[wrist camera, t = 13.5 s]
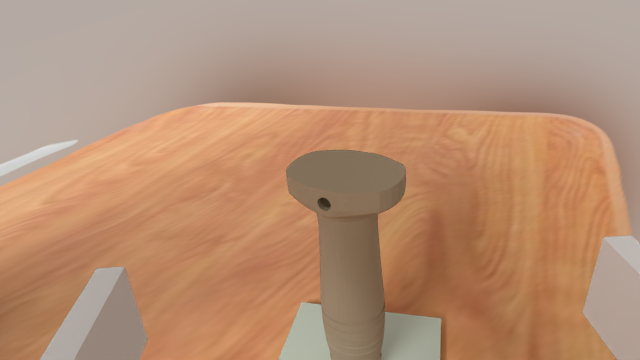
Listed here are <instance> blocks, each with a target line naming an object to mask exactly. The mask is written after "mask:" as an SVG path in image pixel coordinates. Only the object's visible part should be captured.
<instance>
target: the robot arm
mask: <svg viewBox="0 0 640 360" xmlns="http://www.w3.org/2000/svg"><path fill="white" fill-rule="evenodd" d="M582 313H583V314H584V316H585V317H586V318H587V320H588V321H589V322H590V324H591V325H592V327H593V328H594V329H595V331H596V332H597V333H598V335H599V336H600V338H601V339H602V340H603V342H604V343H605V344H606V346H607V347H608V349H609V350H610V351H611V353H612V354H613V355H614V357H615V358H616V359H617V360H640V243H639V242H638V241H637V240H636V239H635V238H634V237H633V236H615V237H603V240H602V244H601V248H600V251H599V255H598V258H597V262H596V265H595V269H594V273H593V276H592V280H591V283H590V287H589V290H588V294H587V298H586V301H585V305H584V308H583V312H582ZM147 340H148V338H147V335H146V332H145V329H144V326H143V322H142V319H141V316H140V313H139V310H138V307H137V304H136V301H135V297H134V294H133V291H132V288H131V285H130V282H129V279H128V276H127V273H126V269H125V267H111V268H97V269H96V270H95V272H94V274H93V275H92V277H91V278H90V280H89V282H88V283H87V285H86V286H85V288H84V290H83V291H82V293H81V294H80V296H79V298H78V299H77V301H76V302H75V304H74V306H73V307H72V309H71V310H70V312H69V314H68V315H67V317H66V318H65V320H64V321H63V323H62V325H61V326H60V328H59V329H58V331H57V333H56V334H55V336H54V337H53V339H52V341H51V342H50V344H49V345H48V347H47V349H46V350H45V352H44V353H43V355H42V357H41V358H40V360H140V358H141V355H142V353H143V350H144V348H145V345H146V343H147Z"/></svg>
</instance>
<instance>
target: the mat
mask: <svg viewBox="0 0 640 360" xmlns="http://www.w3.org/2000/svg"><path fill="white" fill-rule="evenodd" d="M440 343H441V318H435V317H426V316H418V315H409V314H400V313H391V312H385V327H384V338H383V344H382V349H381V352H382V358H381V360H440ZM278 360H331V358H330V350H329V347H328V343H327V340H326V335H325V330H324V325H323V318H322V308H321V304H312V303H304V302H301V305H300V307H299V310H298V312H297V315H296V317H295V320H294V322H293V325H292V327H291V330H290V332H289V335H288V337H287V340H286V342H285V345H284V347H283V349H282V352H281V354H280V357H279V359H278Z"/></svg>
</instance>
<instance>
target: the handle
mask: <svg viewBox="0 0 640 360" xmlns="http://www.w3.org/2000/svg"><path fill="white" fill-rule="evenodd" d="M286 176H287V184H288V190H289V193H290V194H291V195H292V196H293V197H294V198H295V199H296V200H298V201H299V202H300V203H302V204H303V205H304V206H306V207H307V208H309V209H311V210H312V211H314V212H316V213H317V217H318V223H319V242H320V278H321V308H322V318H323V325H324V330H325V335H326V340H327V343H328V347H329V350H330V358H331V360H381V358H382V352H381V349H382V344H383V338H384V327H385V298H384V289H383V279H382V269H381V259H380V248H379V235H378V222H377V221H378V214H379V213H382V212H384V211H386V210H389V209H390V208H392V207H393V206H394V205H396V204H397V203H398V202H399V201H400V200H401V199H402V197H403V195H404V192H405V186H406V170H405V167H404V165H403V164H401V163H399V162H397V161H394V160H392V159H390V158H387V157H385V156H382V155H378V154H373V153H367V152H361V151H353V150H326V151H315V152H311V153H308V154H305V155H303V156H301V157H299V158H298V159H296V160H294V161H293V162H292V163H291V164H290V165H289V166H288V168H287V170H286Z"/></svg>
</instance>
